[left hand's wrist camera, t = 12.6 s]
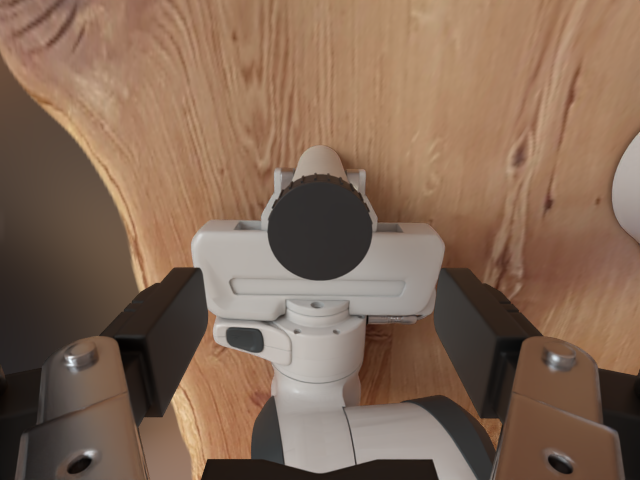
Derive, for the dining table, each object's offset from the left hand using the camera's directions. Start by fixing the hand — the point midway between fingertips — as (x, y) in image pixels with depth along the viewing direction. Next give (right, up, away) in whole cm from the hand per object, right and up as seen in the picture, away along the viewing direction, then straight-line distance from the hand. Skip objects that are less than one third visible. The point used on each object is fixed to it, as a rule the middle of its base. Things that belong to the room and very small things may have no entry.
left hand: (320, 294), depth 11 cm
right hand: (0, +7, +16) cm, 18 cm away
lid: (0, +2, +6) cm, 6 cm away
